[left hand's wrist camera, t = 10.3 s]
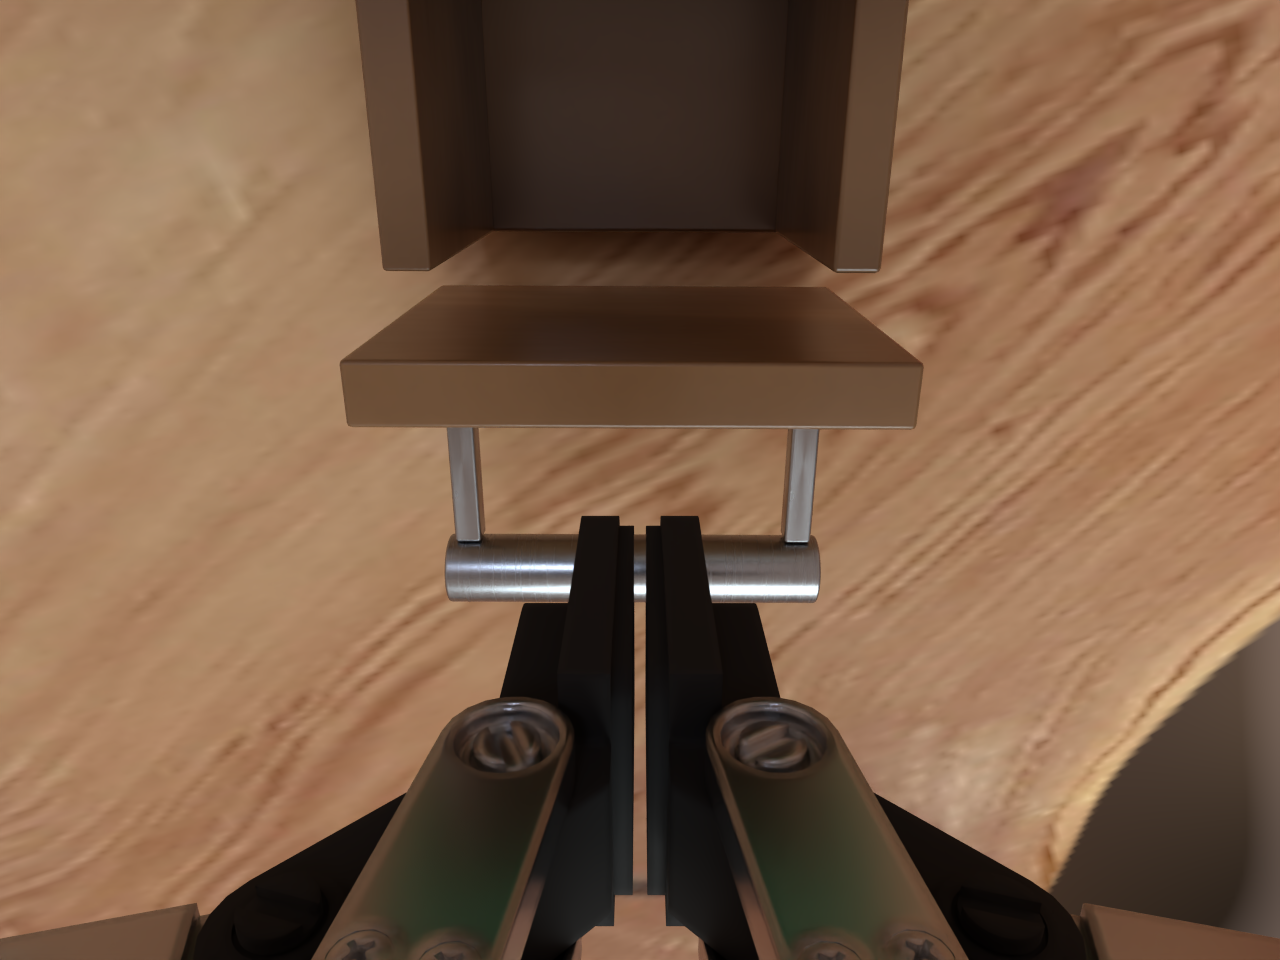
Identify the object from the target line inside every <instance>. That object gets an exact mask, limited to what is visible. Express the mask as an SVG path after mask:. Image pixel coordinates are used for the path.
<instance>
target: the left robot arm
mask: <svg viewBox="0 0 1280 960" xmlns="http://www.w3.org/2000/svg"><path fill="white" fill-rule="evenodd" d="M633 801H634V526H620V522H619V516H582V517H581V523H580V529H579V536H578V542H577V549H576V555H575V561H574V568H573V574H572V581H571V587H570V594H569V600H568V603H525V604H524V605H523V608H522V611H521V615H520V619H519V623H518V627H517V631H516V635H515V639H514V643H513V647H512V651H511V655H510V659H509V663H508V667H507V671H506V675H505V679H504V683H503V687H502V691H501V695H500V698H497V699H492V700H487V701H484V702H481V703H479V704H476V705H474V706H471V707H469V708H467V709H465V710H464V711H462V712H461V713H459V714H458V715H456V716H455V717H453V718H452V719H451V721H450V722H449V723H448V724H447V725H446V727H445V728H444V729H443V730H442V732H441V733H440V735H439V737H438V739H437V740H436V742H435V744H434V746H433V747H432V749H431V751H430V753H429V754H428V756H427V758H426V760H425V761H424V763H423V765H422V767H421V768H420V770H419V772H418V774H417V775H416V777H415V779H414V781H413V782H412V784H411V786H410V788H409V789H408V791H407V793H405V794H403V795H401V796H399V797H398V798H396V799H394V800H392V801H390V802H389V803H387V804H385V805H383V806H382V807H380V808H378V809H376V810H374V811H373V812H371V813H369V814H367V815H366V816H364V817H362V818H360V819H358V820H357V821H355V822H353V823H351V824H350V825H348V826H346V827H344V828H342V829H341V830H339V831H337V832H335V833H334V834H332V835H330V836H328V837H326V838H325V839H323V840H321V841H319V842H317V843H316V844H314V845H312V846H310V847H309V848H307V849H305V850H303V851H301V852H300V853H298V854H296V855H294V856H293V857H291V858H289V859H287V860H285V861H284V862H282V863H280V864H278V865H277V866H275V867H273V868H271V869H269V870H268V871H266V872H264V873H262V874H260V875H259V876H257V877H255V878H253V879H252V880H250V881H248V882H247V883H245V884H244V885H243V886H241V887H240V888H238V889H237V890H235V891H234V892H232V893H231V894H230V895H228V896H227V897H226V898H225V899H224V900H223V901H222V902H221V903H220V904H219V905H218V906H217V907H216V908H215V910H214V911H213V912H212V913H211V914H208V915H202V916H200V915H199V911H198V907H197V903H194V904H188V905H183V906H177V907H172V908H166V909H161V910H155V911H150V912H144V913H139V914H133V915H128V916H122V917H117V918H111V919H106V920H100V921H95V922H89V923H84V924H79V925H73V926H68V927H62V928H57V929H51V930H46V931H40V932H35V933H29V934H24V935H18V936H13V937H7V938H2V939H0V960H581V953H582V944H581V937H582V936H583V935H585V934H586V933H587V932H588V931H590V930H591V929H592V928H593V927H595V926H614V906H615V895H633ZM646 801H647V895H665V906H666V926H685V927H687V928H688V929H689V930H690V931H692V932H693V933H694V934H695V935H697V936H698V937H699V944H698V953H699V960H1280V939H1278V938H1272V937H1267V936H1262V935H1256V934H1251V933H1245V932H1240V931H1234V930H1229V929H1223V928H1218V927H1212V926H1207V925H1201V924H1196V923H1191V922H1185V921H1180V920H1174V919H1168V918H1163V917H1158V916H1152V915H1147V914H1141V913H1135V912H1130V911H1125V910H1119V909H1114V908H1108V907H1103V906H1097V905H1092V904H1086V903H1083V907H1082V911H1081V915H1080V916H1078V915H1072V914H1069V913H1068V912H1067V911H1066V910H1065V909H1064V907H1063V906H1062V905H1061V904H1060V903H1059V902H1058V901H1057V900H1056V899H1055V898H1054V897H1053V896H1052V895H1050V894H1049V893H1048V892H1046V891H1045V890H1043V889H1042V888H1040V887H1039V886H1037V885H1036V884H1035V883H1033V882H1032V881H1030V880H1028V879H1027V878H1025V877H1023V876H1021V875H1020V874H1018V873H1016V872H1014V871H1012V870H1011V869H1009V868H1007V867H1005V866H1003V865H1002V864H1000V863H998V862H996V861H995V860H993V859H991V858H989V857H987V856H986V855H984V854H982V853H980V852H979V851H977V850H975V849H973V848H971V847H970V846H968V845H966V844H964V843H963V842H961V841H959V840H957V839H955V838H954V837H952V836H950V835H948V834H946V833H945V832H943V831H941V830H939V829H938V828H936V827H934V826H932V825H930V824H929V823H927V822H925V821H923V820H922V819H920V818H918V817H916V816H914V815H913V814H911V813H909V812H907V811H906V810H904V809H902V808H900V807H898V806H897V805H895V804H893V803H891V802H890V801H888V800H886V799H884V798H882V797H881V796H879V795H877V794H875V793H873V791H872V789H871V788H870V786H869V784H868V782H867V781H866V779H865V777H864V775H863V774H862V772H861V770H860V768H859V767H858V765H857V763H856V761H855V760H854V758H853V756H852V754H851V753H850V751H849V749H848V747H847V746H846V744H845V742H844V740H843V739H842V737H841V735H840V733H839V732H838V730H837V729H836V728H835V727H834V725H833V724H832V723H831V722H830V721H829V719H828V718H827V717H825V716H824V715H822V714H821V713H819V712H818V711H816V710H815V709H813V708H811V707H809V706H806V705H804V704H801V703H799V702H796V701H793V700H788V699H783V698H780V695H779V691H778V687H777V683H776V679H775V675H774V671H773V667H772V663H771V659H770V655H769V651H768V647H767V643H766V639H765V635H764V631H763V627H762V623H761V619H760V615H759V611H758V608H757V605H756V604H755V603H712V600H711V594H710V587H709V581H708V574H707V568H706V561H705V555H704V549H703V542H702V536H701V529H700V523H699V517H698V516H661V522H660V526H646Z"/></svg>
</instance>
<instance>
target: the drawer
mask: <svg viewBox="0 0 1280 960" xmlns="http://www.w3.org/2000/svg"><path fill="white" fill-rule="evenodd" d="M908 3H909V0H356V10H357V20H358V29H359V39H360V49H361V59H362V68H363V78H364V88H365V98H366V107H367V117H368V127H369V137H370V146H371V156H372V166H373V176H374V185H375V195H376V205H377V215H378V224H379V234H380V244H381V254H382V263H383V268H384V270H386V271H429V270H431V269H433V268H435V267H436V266H438V265H439V264H441V263H443V262H444V261H446V260H447V259H449V258H451V257H452V256H454V255H455V254H457V253H459V252H460V251H462V250H463V249H465V248H467V247H468V246H470V245H471V244H473V243H475V242H476V241H478V240H479V239H481V238H483V237H484V236H486V235H487V234H489V233H491V232H492V231H579V232H777V233H778V234H780V235H781V236H783V237H784V238H786V239H787V240H789V241H790V242H792V243H793V244H795V245H796V246H797V247H799V248H800V249H802V250H803V251H805V252H806V253H808V254H809V255H811V256H812V257H814V258H815V259H816V260H818V261H819V262H821V263H822V264H824V265H825V266H827V267H828V268H830V269H831V270H833V271H834V272H837V273H876V272H878V271H879V270H880V268H881V261H882V251H883V241H884V232H885V222H886V213H887V203H888V194H889V184H890V175H891V165H892V156H893V146H894V137H895V127H896V118H897V108H898V99H899V89H900V80H901V70H902V61H903V51H904V41H905V32H906V22H907V13H908ZM923 368H924V367H923V363H921V362H920V361H919V360H918V359H916V358H915V357H914V356H913V355H911V354H910V353H909V352H908V351H906V350H905V349H904V348H903V347H901V346H900V345H899V344H897V343H896V342H895V341H894V340H892V339H891V338H890V337H889V336H887V335H886V334H885V333H884V332H882V331H881V330H880V329H879V328H877V327H876V326H875V325H874V324H872V323H871V322H870V321H869V320H867V319H866V318H865V317H864V316H862V315H861V314H860V313H858V312H857V311H856V310H855V309H853V308H852V307H851V306H850V305H848V304H847V303H846V302H845V301H843V300H842V299H841V298H840V297H838V296H837V295H836V294H835V293H833V292H832V291H831V290H830V289H828V288H826V287H643V286H441V287H440V288H438V289H437V290H436V291H434V292H433V293H431V294H430V295H429V296H427V297H426V298H425V299H423V300H422V301H421V302H419V303H418V304H417V305H415V306H414V307H413V308H411V309H410V310H409V311H407V312H406V313H404V314H403V315H402V316H400V317H399V318H398V319H396V320H395V321H394V322H392V323H391V324H390V325H388V326H387V327H386V328H384V329H383V330H382V331H380V332H379V333H378V334H376V335H375V336H373V337H372V338H371V339H369V340H368V341H367V342H365V343H364V344H363V345H361V346H360V347H359V348H357V349H356V350H355V351H353V352H352V353H351V354H349V355H348V356H346V357H345V358H344V359H342V360H341V362H340V371H341V379H342V387H343V395H344V403H345V411H346V419H347V424H348V426H351V427H447V437H448V449H449V461H450V474H451V486H452V498H453V511H454V523H455V534H452V535H451V537H450V539H449V541H448V545H447V549H446V557H445V585H446V591H447V595H448V598H449V600H450V601H473V602H568V600H569V594H570V587H571V581H572V574H573V568H574V561H575V555H576V549H577V542H578V536H579V534H484V532H485V518H484V503H483V489H482V474H481V459H480V444H479V429H478V428H677V429H788V438H787V452H786V466H785V480H784V494H783V508H782V522H781V533H782V535H701V536H702V542H703V549H704V555H705V561H706V568H707V574H708V581H709V587H710V594H711V600H712V602H713V603H814V602H815V601H816V600H817V598H818V594H819V589H820V577H821V566H820V554H819V547H818V543H817V540H816V538H815V537H814V536H812V535H810V534H811V523H812V511H813V499H814V487H815V476H816V464H817V452H818V440H819V429H899V430H911V429H914V428H915V426H916V423H917V415H918V407H919V400H920V392H921V384H922V376H923ZM634 602H646V535H636V534H634Z"/></svg>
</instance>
